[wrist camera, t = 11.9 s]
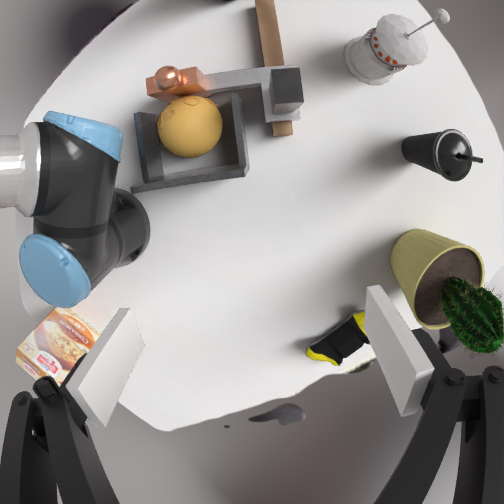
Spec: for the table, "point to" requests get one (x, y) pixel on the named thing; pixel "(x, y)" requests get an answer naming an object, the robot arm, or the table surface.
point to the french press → (388, 48)
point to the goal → (158, 180)
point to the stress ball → (190, 126)
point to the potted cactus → (448, 288)
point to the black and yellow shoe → (340, 340)
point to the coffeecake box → (56, 345)
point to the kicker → (234, 87)
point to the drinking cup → (441, 153)
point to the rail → (271, 50)
